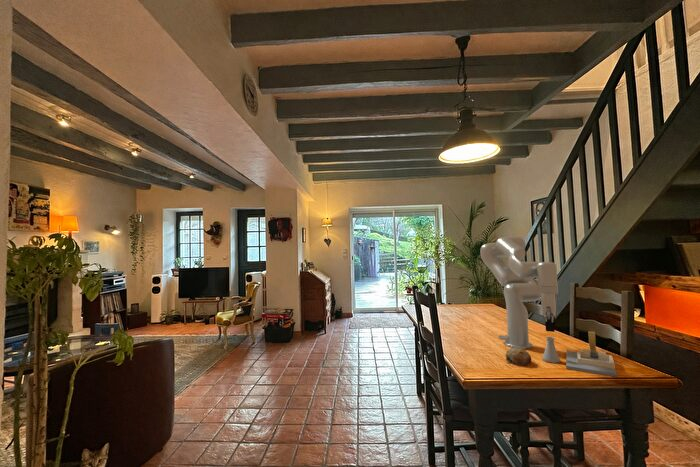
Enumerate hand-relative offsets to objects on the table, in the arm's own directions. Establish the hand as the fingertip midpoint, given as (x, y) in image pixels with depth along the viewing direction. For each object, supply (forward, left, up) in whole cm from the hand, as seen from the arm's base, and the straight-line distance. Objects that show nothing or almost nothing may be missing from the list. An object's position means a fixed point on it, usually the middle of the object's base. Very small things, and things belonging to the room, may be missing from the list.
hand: (550, 329), depth 140 cm
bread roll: (-12, -9, -14) cm, 21 cm away
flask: (0, +1, -14) cm, 14 cm away
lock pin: (+15, +17, -12) cm, 26 cm away
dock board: (+13, +4, -14) cm, 19 cm away
